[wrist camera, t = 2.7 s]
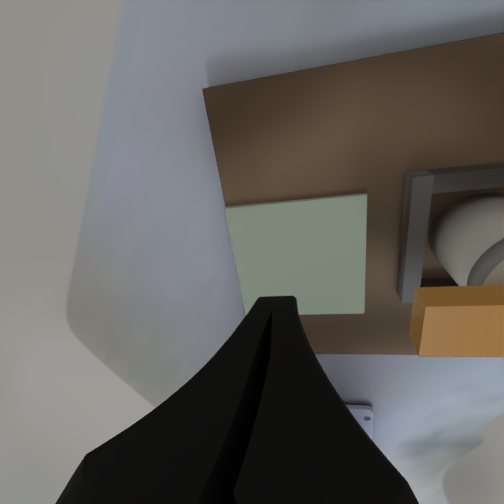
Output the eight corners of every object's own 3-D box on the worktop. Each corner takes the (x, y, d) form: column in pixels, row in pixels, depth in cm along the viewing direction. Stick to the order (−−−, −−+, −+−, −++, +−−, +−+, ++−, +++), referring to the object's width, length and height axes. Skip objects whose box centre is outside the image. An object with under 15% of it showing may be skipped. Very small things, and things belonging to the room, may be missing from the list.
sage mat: (363, 310, 17) (364, 313, 17) (246, 312, 19) (245, 315, 18) (366, 193, 14) (367, 195, 14) (225, 206, 15) (224, 208, 15)
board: (577, 342, 17) (713, 465, 11) (256, 342, 21) (239, 433, 15) (735, -9, 10) (1298, -147, 4) (208, 89, 14) (143, 84, 8)
